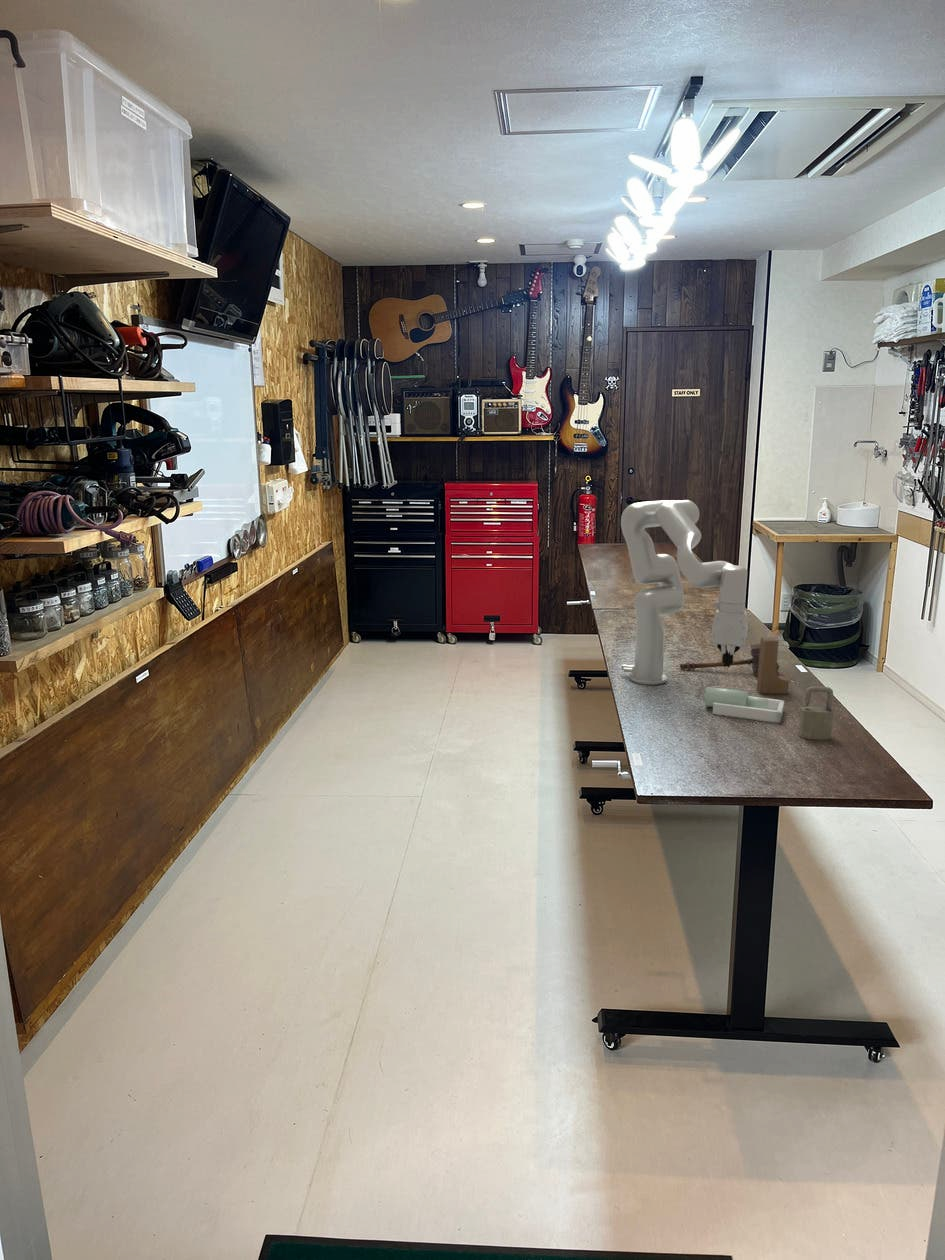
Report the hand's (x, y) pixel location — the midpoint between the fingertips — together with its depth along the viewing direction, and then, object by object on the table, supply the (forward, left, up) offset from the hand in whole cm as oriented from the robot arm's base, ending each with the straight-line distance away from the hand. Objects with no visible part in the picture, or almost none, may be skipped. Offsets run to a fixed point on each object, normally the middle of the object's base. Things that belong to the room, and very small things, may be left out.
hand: (727, 665), depth 274 cm
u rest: (+7, 0, -14) cm, 16 cm away
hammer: (-4, +39, -15) cm, 42 cm away
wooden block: (+12, +23, -14) cm, 30 cm away
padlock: (+27, -13, -14) cm, 33 cm away
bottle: (-6, 0, -11) cm, 12 cm away
